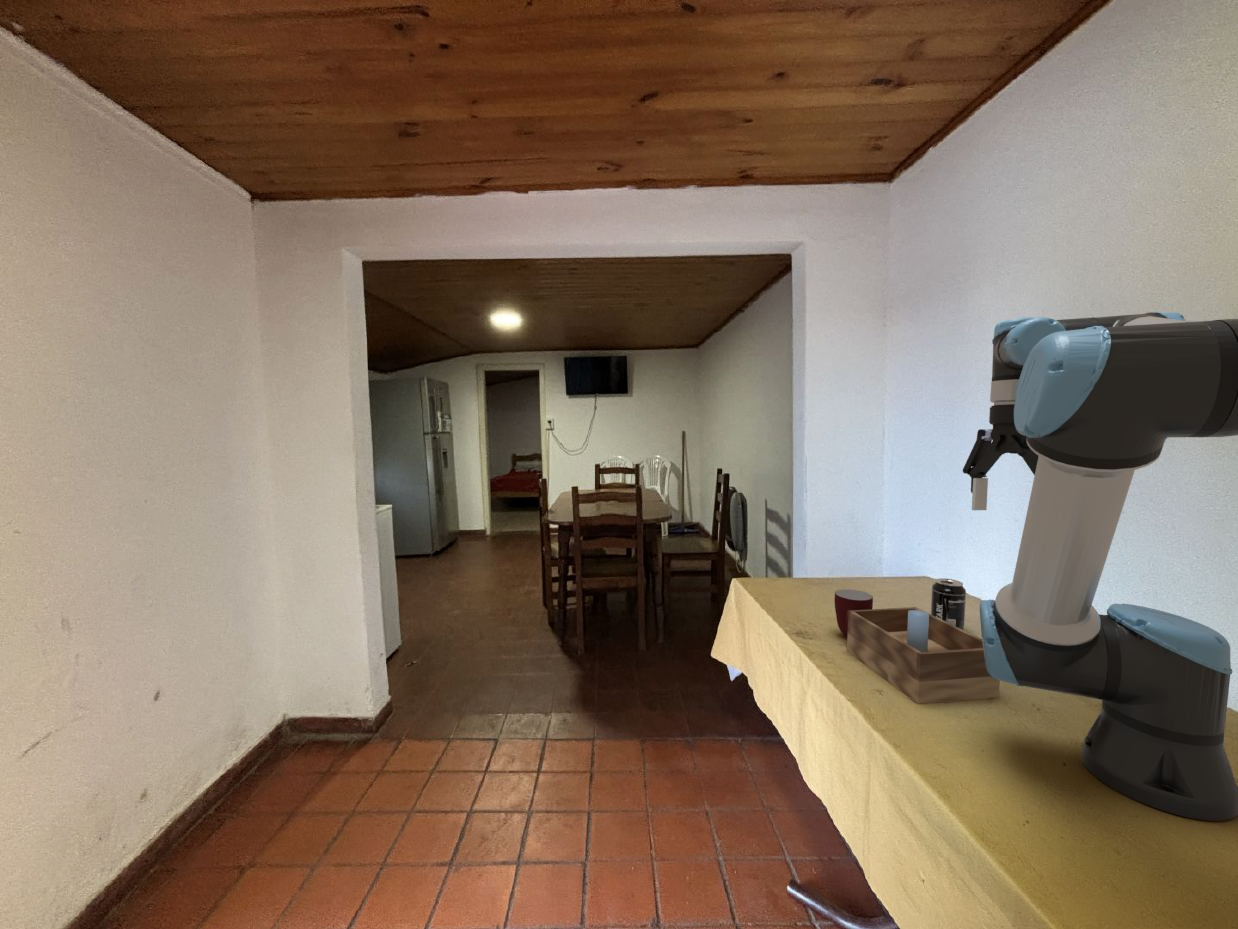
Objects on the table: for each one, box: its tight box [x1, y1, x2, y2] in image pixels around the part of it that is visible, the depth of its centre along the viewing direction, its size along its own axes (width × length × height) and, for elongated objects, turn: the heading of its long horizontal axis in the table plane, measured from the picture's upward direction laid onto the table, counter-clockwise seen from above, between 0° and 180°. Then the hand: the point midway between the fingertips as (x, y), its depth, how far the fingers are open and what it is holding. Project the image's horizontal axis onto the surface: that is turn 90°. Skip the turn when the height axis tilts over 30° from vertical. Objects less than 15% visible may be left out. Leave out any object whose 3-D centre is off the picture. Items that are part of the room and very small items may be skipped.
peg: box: [907, 610, 930, 652], centre depth 104 cm, size 4×4×12 cm
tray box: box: [846, 606, 1001, 705], centre depth 104 cm, size 22×16×9 cm
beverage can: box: [930, 578, 967, 631], centre depth 125 cm, size 7×7×12 cm
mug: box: [833, 588, 874, 639], centre depth 121 cm, size 11×8×10 cm
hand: (1008, 515), depth 101 cm, fingers open, 13 cm apart
